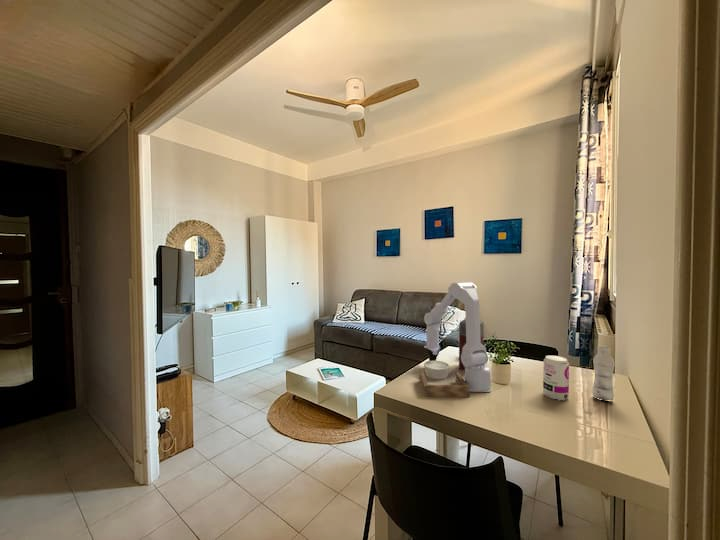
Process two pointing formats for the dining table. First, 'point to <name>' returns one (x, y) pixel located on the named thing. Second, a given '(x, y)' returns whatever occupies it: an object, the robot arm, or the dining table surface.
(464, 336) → the dark red bottle
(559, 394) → the supplement can
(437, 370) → the ramekin
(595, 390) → the plastic bottle
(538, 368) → the dining table surface
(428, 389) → the shallow wooden tray
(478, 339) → the robot arm
